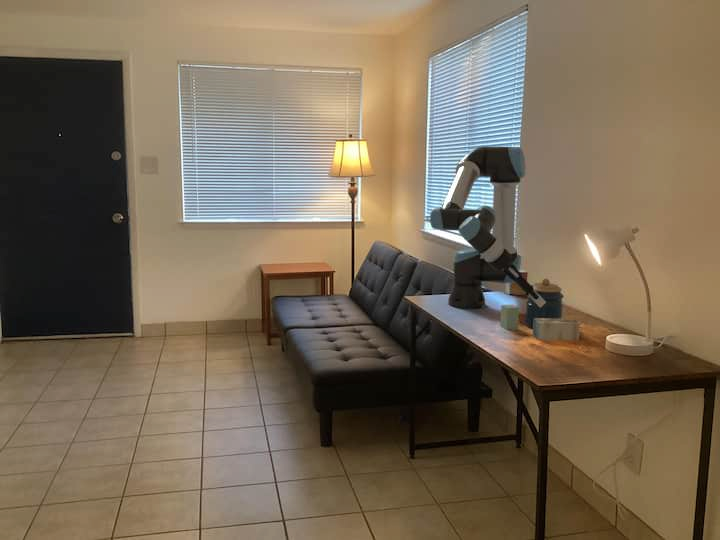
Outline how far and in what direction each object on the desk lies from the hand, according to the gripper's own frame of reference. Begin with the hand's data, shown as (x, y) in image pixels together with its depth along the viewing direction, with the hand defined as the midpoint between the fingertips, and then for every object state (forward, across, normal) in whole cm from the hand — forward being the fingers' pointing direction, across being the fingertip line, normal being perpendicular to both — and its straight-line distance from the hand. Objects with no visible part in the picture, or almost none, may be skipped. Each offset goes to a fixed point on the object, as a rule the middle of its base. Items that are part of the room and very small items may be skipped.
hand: (542, 304), depth 215 cm
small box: (+15, -71, -2) cm, 72 cm away
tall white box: (+5, 0, -7) cm, 9 cm away
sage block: (+3, -12, -14) cm, 18 cm away
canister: (+12, -15, -5) cm, 20 cm away
